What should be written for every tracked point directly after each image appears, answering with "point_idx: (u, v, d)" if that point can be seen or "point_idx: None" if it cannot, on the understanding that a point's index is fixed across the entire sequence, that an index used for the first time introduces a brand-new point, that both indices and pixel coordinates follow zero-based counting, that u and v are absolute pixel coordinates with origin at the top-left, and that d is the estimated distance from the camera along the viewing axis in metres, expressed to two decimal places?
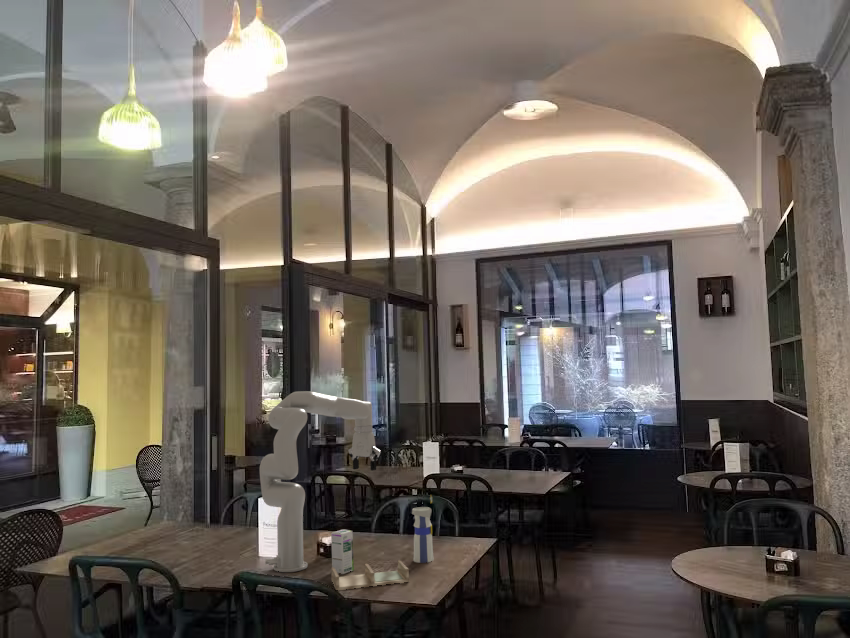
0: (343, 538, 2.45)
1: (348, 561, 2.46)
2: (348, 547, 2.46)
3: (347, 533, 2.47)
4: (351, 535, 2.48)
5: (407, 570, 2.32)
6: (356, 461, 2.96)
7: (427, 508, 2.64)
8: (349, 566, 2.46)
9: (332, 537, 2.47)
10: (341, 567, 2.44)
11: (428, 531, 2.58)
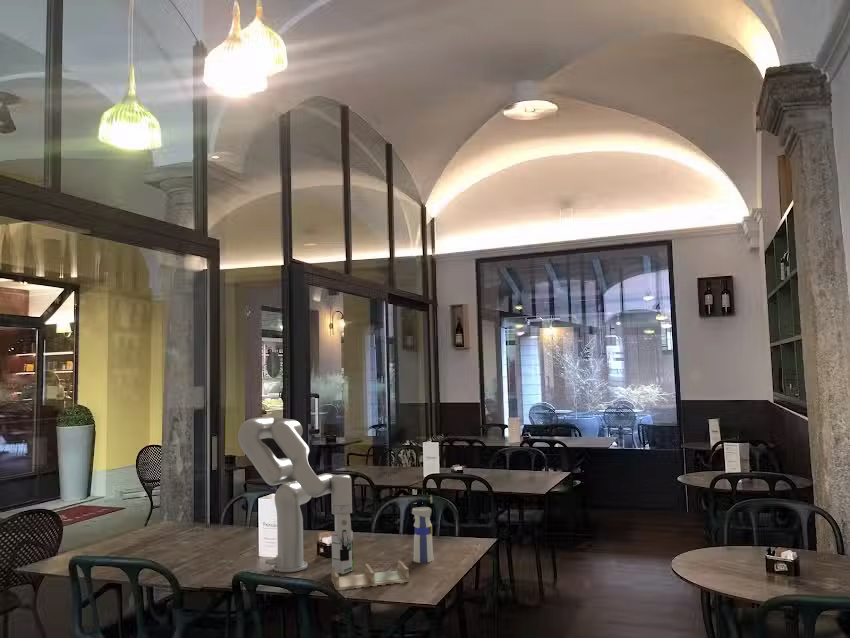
0: None
1: (348, 561, 2.46)
2: None
3: None
4: (351, 535, 2.48)
5: (407, 570, 2.32)
6: None
7: (427, 508, 2.64)
8: (349, 566, 2.46)
9: (332, 537, 2.47)
10: (341, 567, 2.44)
11: (428, 531, 2.58)
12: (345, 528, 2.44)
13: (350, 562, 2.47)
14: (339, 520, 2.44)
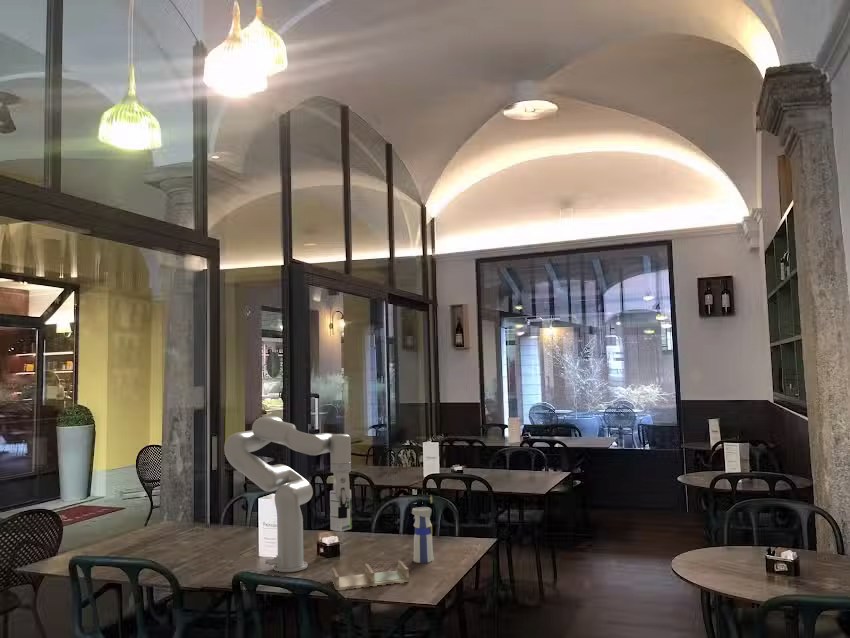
0: None
1: (346, 519, 2.47)
2: (347, 506, 2.48)
3: None
4: (350, 494, 2.50)
5: (407, 570, 2.32)
6: None
7: (427, 508, 2.64)
8: (347, 524, 2.47)
9: (331, 495, 2.49)
10: (340, 525, 2.45)
11: (428, 531, 2.58)
12: (344, 486, 2.45)
13: (348, 520, 2.48)
14: (338, 478, 2.46)
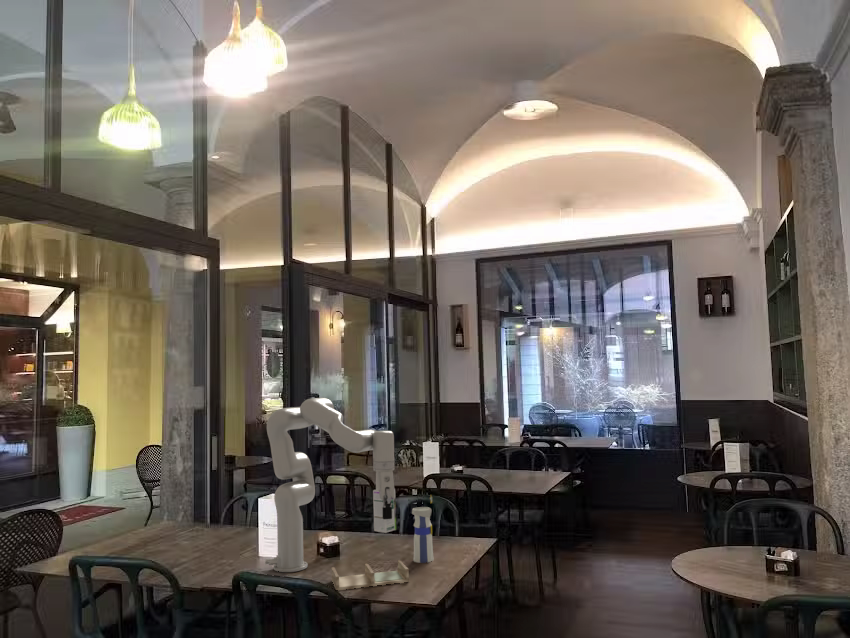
0: None
1: (391, 519, 2.35)
2: None
3: None
4: None
5: (407, 570, 2.32)
6: None
7: (427, 508, 2.64)
8: (392, 525, 2.36)
9: (374, 495, 2.37)
10: (384, 525, 2.34)
11: (428, 531, 2.58)
12: (388, 485, 2.34)
13: (393, 521, 2.36)
14: (382, 477, 2.34)
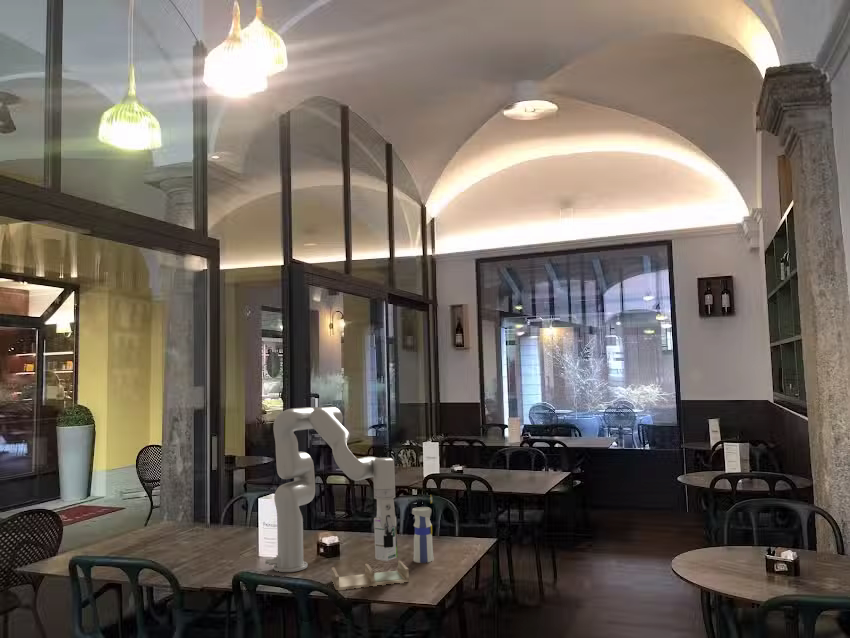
0: None
1: (392, 547, 2.35)
2: None
3: None
4: None
5: (407, 570, 2.32)
6: None
7: (427, 508, 2.64)
8: (393, 553, 2.35)
9: (375, 523, 2.36)
10: (385, 554, 2.33)
11: (428, 531, 2.58)
12: (389, 513, 2.33)
13: (394, 549, 2.35)
14: (383, 505, 2.33)
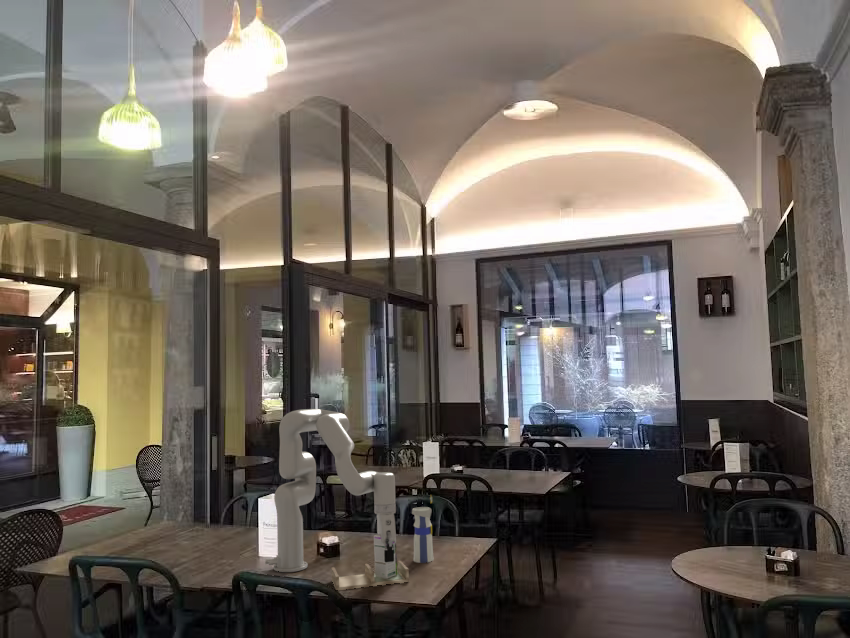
0: (386, 540, 2.34)
1: (391, 565, 2.34)
2: None
3: None
4: None
5: (407, 570, 2.32)
6: None
7: (427, 508, 2.64)
8: (393, 570, 2.34)
9: (375, 540, 2.36)
10: (385, 571, 2.32)
11: (428, 531, 2.58)
12: (389, 528, 2.32)
13: (394, 566, 2.35)
14: (383, 520, 2.33)
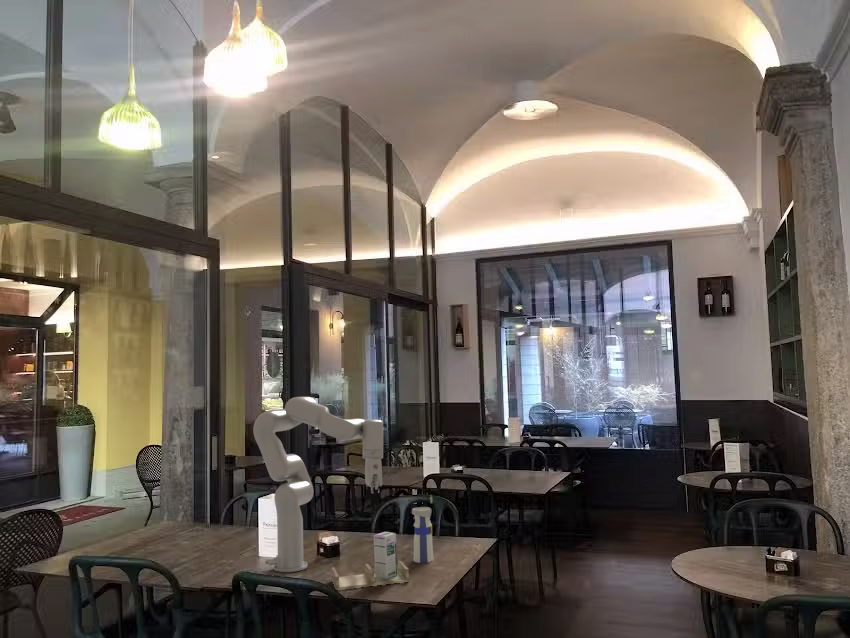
0: (386, 540, 2.34)
1: (391, 565, 2.34)
2: (392, 551, 2.35)
3: (390, 536, 2.35)
4: (394, 538, 2.37)
5: (407, 570, 2.32)
6: None
7: (427, 508, 2.64)
8: (393, 570, 2.34)
9: (375, 540, 2.36)
10: (385, 571, 2.32)
11: (428, 531, 2.58)
12: (376, 472, 2.40)
13: (394, 566, 2.35)
14: (370, 464, 2.40)
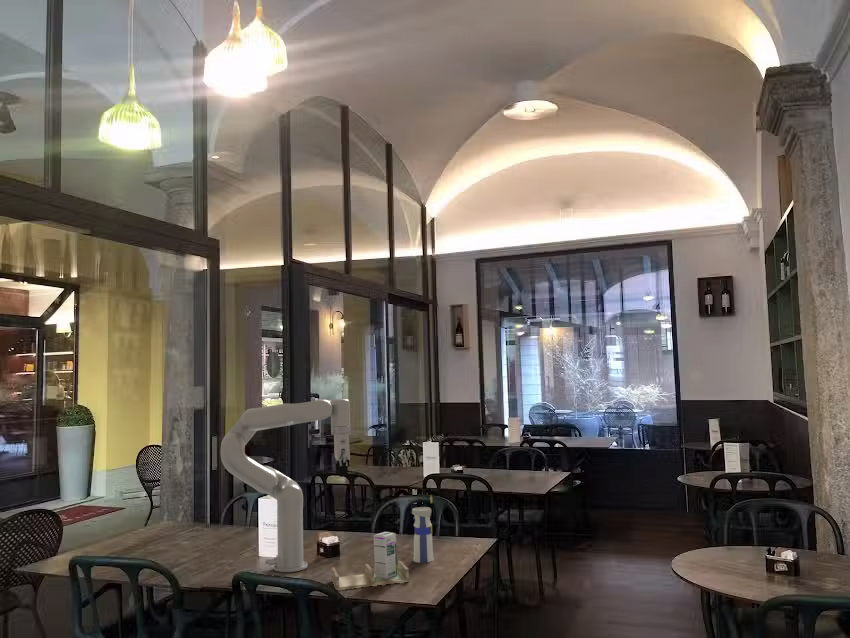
0: (386, 540, 2.34)
1: (391, 565, 2.34)
2: (392, 551, 2.35)
3: (390, 536, 2.35)
4: (394, 538, 2.37)
5: (407, 570, 2.32)
6: None
7: (427, 508, 2.64)
8: (393, 570, 2.34)
9: (375, 540, 2.36)
10: (385, 571, 2.32)
11: (428, 531, 2.58)
12: (344, 447, 2.59)
13: (394, 566, 2.35)
14: (338, 439, 2.59)
